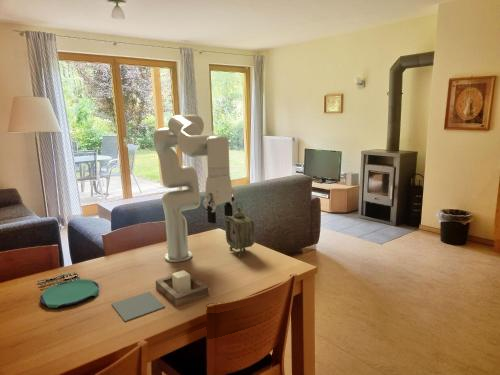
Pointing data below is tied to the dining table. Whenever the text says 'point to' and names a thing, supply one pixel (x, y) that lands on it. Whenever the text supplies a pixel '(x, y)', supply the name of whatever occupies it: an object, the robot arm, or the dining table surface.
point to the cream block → (181, 282)
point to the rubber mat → (137, 306)
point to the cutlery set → (68, 291)
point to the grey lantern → (239, 231)
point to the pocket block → (183, 298)
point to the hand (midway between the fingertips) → (220, 219)
